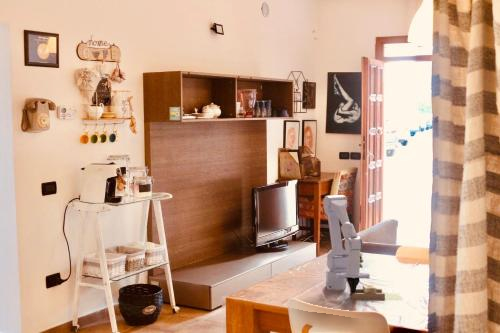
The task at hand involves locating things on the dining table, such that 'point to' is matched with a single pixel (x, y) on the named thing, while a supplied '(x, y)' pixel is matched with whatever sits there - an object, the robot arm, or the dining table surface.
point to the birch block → (369, 289)
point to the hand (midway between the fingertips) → (352, 294)
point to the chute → (374, 295)
